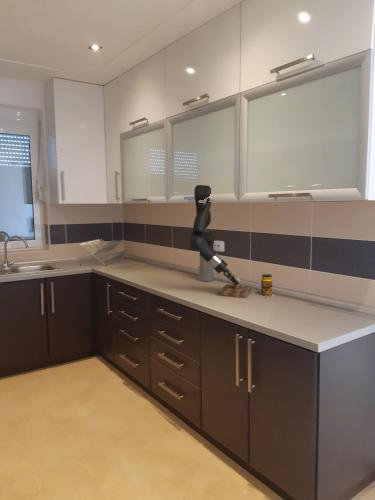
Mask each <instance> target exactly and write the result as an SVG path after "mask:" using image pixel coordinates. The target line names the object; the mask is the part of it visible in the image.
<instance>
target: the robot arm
mask: <svg viewBox="0 0 375 500" xmlns="http://www.w3.org/2000/svg"><path fill="white" fill-rule="evenodd" d="M209 186H210V185H206V184H205V185H204V184H197V185H196V186H195V187H194V193H193V195H194V201H195V208H196V209H195V210H196V211H195V212H196V215H195V217H194V221H193V226H192V232H191V235H190V238H189V248H190V249H191V250H192V251H199V266H198V281H199V282H212V281H214V272H216V273H217V274H221V273H222V274H223V276H224V277H225V278H226V279H228V280H229V281H230V282H232V284H233V283H234V284H235V285H236V286H237V285H238V284H239V285H240V281H239V282H238V281H237V280H236V279H235V278H234V277H235V276H234V274H233V273H232V271H231V270H230V269H229V268H227V267H228V263H227V262H226V261H225V260H224V258H222V257H221V256H219V254H217V253H216V252H215V251H214V232H212V231H206V229H207V228H208V227H209V226H210V224H211V222H212V213H211V211H210V210H211V205H212V203H211V202H209V201H210V199H209V198H208V199H207V201H205V203H204V202H203V203H199V202H198V201H199V200H204V199H205V198H207V197H209V196H210V194H211V188H210V187H209Z"/></svg>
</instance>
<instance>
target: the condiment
mask: <svg viewBox="0 0 375 500" xmlns="http://www.w3.org/2000/svg"><path fill="white" fill-rule="evenodd" d="M272 276H273V275H272V274H270V273H263V274H262V276H261V282H260V283H261V286H260V287H261V290H260V291H261V293H258V296H261V297H263V298H267V297H270V298H271V297H275V296H276V295H275V294H273V277H272Z"/></svg>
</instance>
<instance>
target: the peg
mask: <svg viewBox="0 0 375 500" xmlns="http://www.w3.org/2000/svg"><path fill="white" fill-rule="evenodd" d="M234 278H235V279H236V280H237V281H238V282H239V284H238V285H237V286H236V285H235V284H234V283H233V282H232V285H233V288H236V289H237V288H239V285H240V277H239V276H234Z"/></svg>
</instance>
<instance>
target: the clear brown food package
mask: <svg viewBox="0 0 375 500" xmlns="http://www.w3.org/2000/svg"><path fill="white" fill-rule="evenodd" d="M252 288H253V287H252V285H242V284H241V285H240V284H239V288H237V289H236V288H233V284H225V285H223V287H221V288H220V289H219V297H228V298H238V299H239V298H243V299H247V298H248V297H249V295H251V294H252Z"/></svg>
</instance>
